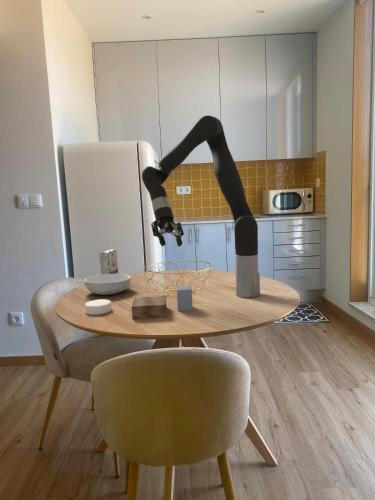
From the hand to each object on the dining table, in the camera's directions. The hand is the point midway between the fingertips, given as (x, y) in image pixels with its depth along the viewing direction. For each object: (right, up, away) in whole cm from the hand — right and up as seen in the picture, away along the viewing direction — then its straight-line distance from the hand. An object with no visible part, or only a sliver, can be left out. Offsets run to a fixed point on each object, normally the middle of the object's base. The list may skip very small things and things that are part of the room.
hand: (172, 245), depth 157 cm
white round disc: (-28, -26, -8) cm, 39 cm away
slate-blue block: (+5, -24, -10) cm, 27 cm away
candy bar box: (-33, -19, +39) cm, 54 cm away
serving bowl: (-30, -21, +20) cm, 41 cm away
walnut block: (-7, -25, -14) cm, 30 cm away
